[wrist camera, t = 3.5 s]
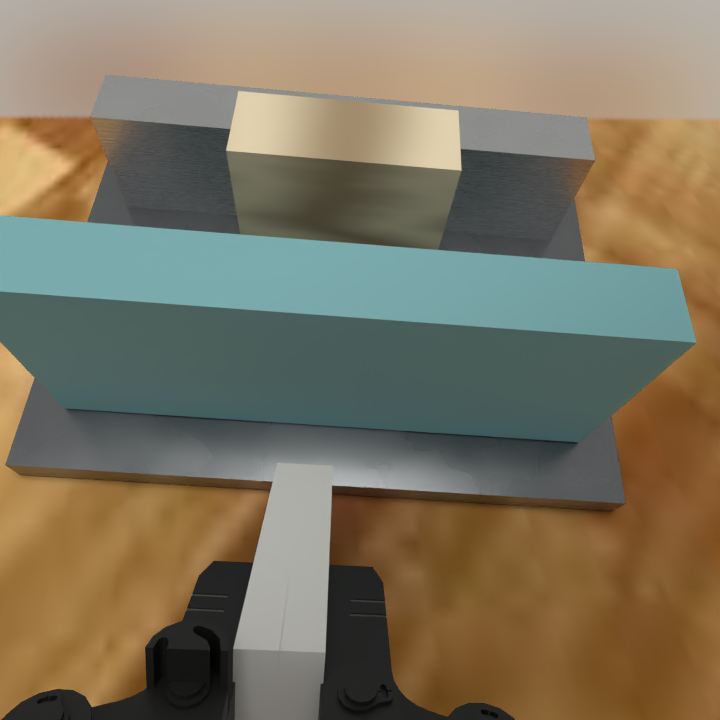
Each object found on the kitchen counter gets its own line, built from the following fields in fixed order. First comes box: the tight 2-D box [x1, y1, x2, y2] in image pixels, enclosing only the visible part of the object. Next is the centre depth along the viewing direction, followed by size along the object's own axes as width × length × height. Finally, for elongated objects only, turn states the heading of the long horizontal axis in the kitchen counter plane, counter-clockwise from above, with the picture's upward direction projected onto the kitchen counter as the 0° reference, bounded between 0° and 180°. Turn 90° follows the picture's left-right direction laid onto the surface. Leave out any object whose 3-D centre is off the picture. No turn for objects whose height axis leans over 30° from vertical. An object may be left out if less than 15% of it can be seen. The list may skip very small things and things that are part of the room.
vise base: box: [6, 75, 626, 511], centre depth 24 cm, size 23×16×6 cm
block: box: [226, 91, 462, 250], centre depth 24 cm, size 8×3×7 cm, turn 87°
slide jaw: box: [0, 216, 696, 442], centre depth 20 cm, size 20×2×8 cm, turn 87°
